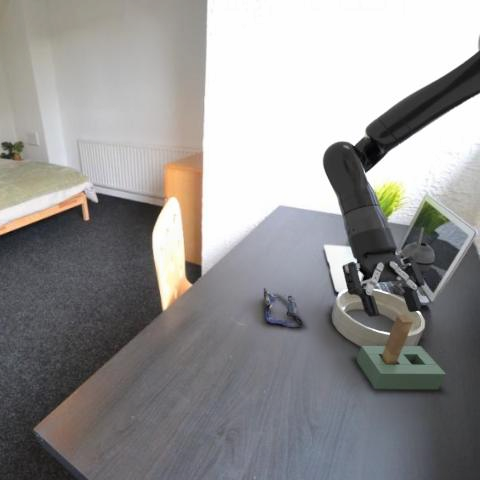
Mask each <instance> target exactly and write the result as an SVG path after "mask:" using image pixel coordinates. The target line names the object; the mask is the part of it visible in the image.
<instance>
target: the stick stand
mask: <svg viewBox="0 0 480 480" xmlns="http://www.w3.org/2000/svg"><path fill="white" fill-rule="evenodd" d="M384 349H385V346H360V350H359V352H358V356H357V358H356V362H357V364H358V365H359V367H360V368H361V370H362V372H363V373H364V375H365V376H366V377H367V379H368V381H369V382H370V384H371V385H372V387H373V389H374V390H439V388H440V387H441V384H443V383H442V382H443V380H444V379H445V377H446V374H447V373H446V371H444V369H442V368H441V367H440V366H439V365H438V363H437V362H436V361H435V360H434V359H433V358H432V357H431V356H430V354H429V353H428V352H427V351H426V350H425V349H424V348H423V346H421V345H417V346H403V348H402V351H401V353H400V355H399V358H398V360H397V363H396V365H386V364H385V362H384V361H383V360H382V358H381V357H382V354H383V351H384Z"/></svg>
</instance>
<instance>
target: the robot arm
mask: <svg viewBox="0 0 480 480" xmlns="http://www.w3.org/2000/svg"><path fill="white" fill-rule="evenodd" d="M477 39H478V40H477V50H478V51H477V52H476V53H474V54H473V55H471V56H470V57H468V59H466V60H465V61H463V62H462V63H461V64H459V65H457V66H456V67H454V68H453V69H451V70H450V71H448V72H447V73H446V74H444V75H442V76H441V77H439V78H437V79H435V80H433V81H432V82H430V83H428V84H426V85H424V86H423V87H421V88H419V89H417V90H415V91H413V92H412V93H410V94H409V95H407V96H405V97H404V98H402V99H401V100H399V101H398V102H396V103H395V104H394V105H392V106H391V107H390V108H388V109H386V111H384V112H383V113H381V114H380V115H379V116H377V117H376V118H375V119H374V120H372V121H371V122H370V123H368V124H367V126H366V127H365V130H364V135H363V137H361V138H360V140H358V141H357V142H356V143H355V144H353V143H352V142H349V141H346V140H345V141H344V140H342V141H336V142H333V143H331V144H330V145H329V146H328V147H327V148H326V149H325V151H324V153H323V156H322V167H323V170H324V172H325V176H326V177H327V180H328V182H329V185H330V186H331V188H332V190H333V192H334V194H335V196H336V199H337V203H338V208H339V210H340V214H341V217H342V221H343V227H344V231H345V234H346V237H347V241H348V243H349V247H350V251H351V254H352V257H353V258H354V259H355V260H356V262H354V261H350V262H348V263H345V264H343V265H342V267H341V268H342V271H343V276H344V281H345V284H346V289H348V293H349V294H350V295H357V296H359V297H360V298H361V301H362V304H363V307H364V309H363V311H364V313H365V314H366V315H367V316H368V317H369V318H372V317H373V318H374V317H379V316H380V313H379V311H378V308H377V304H376V301H375V298H374V295H373V296H371V294H372V292H373V289H375V287H376V286H377V285H378V284H379V283H390V284H392V285H393V286H395V285H397V286H398V287H399V288H400V289H401V290H402V291H403V292H405V293H403V295H402V296H403V299H404V300H405V302H406V305H407V308H408V310H409V312H415V311H419V312H421V311H422V303H421V300H420V297H419V294H418V292H417V291H418V290H417V288H418V289H419V288H421V287H424V286H425V284H426V283H425V280H424V278H422V275H421V273H420V271H419V268H418V266H417V264H416V261H415V259H414V257H413V256H409V257H406V258H403V259H400V257H398V255H397V249H398V246H397V243H396V241H395V239H394V236H393V232H392V230H391V227H390V223H389V222H388V219H387V215H386V214H385V212H384V210H383V208H382V205H381V203H380V201H379V198H378V195H377V192H376V190H375V188H374V186H373V184H372V183H371V181H370V180H368V177H367V175H366V174H367V173H368V172H370V170H372V169H373V168H374V167H375V166H376V165H377V164H379V162H381V160H383V159H384V158H385V157H386V156H387V154H389V152H391V151H392V150H394V149H395V148H397V147H398V146H400V145H401V144H403V143H404V142H406V141H407V140H409V139H411V138H412V137H414V135H417V134H418V133H419V132H421V131H422V130H424V129H425V128H426V127H428V126H429V125H431V124H433V123H434V122H435V121H437V120H438V119H440V118H441V117H443V116H445V115H447V114H448V113H449V112H451V111H453V110H455V109H456V108H457V107H459V106H461V105H463V104H464V103H466V102H467V101H469V100H471V99H473V98H475V97H476V96H478V95H480V34H479V36H478V38H477ZM400 268H402V270H401V269H400ZM359 273H360V274H362V275H361V278H360V275H359ZM413 275H414V278H415V280H416V281H415V280H414V278H413ZM397 276H399V277H397Z"/></svg>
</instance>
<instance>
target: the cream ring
mask: <svg viewBox="0 0 480 480" xmlns="http://www.w3.org/2000/svg"><path fill="white" fill-rule="evenodd" d="M373 295H374V298H375V301H376V304H377V308H378V311H379V315H382V316H384V317H387V318H389V319H390V320H392V321H393V322H395V320H396V317H397V316H408V317H409V318H410V319H411V320H412V321H413V324H412V326H411V329H410V331H409V333H408V336H407V338H406V341H405V343H404V346H418V344H419V342H420V339H421V337H422V335H423V333H424V330H425V327H426V320H425V318H424V316H423V314H422V313H421V311H415V312H409V310H408V308H407V305H406V302H405V299H404V298H402V297H400V296H397V295H395V294H393V293H390V292H387V291H384V290H382V289H381V290H380V289H377V288H374V289H373V292H372V294H371V296H373ZM353 310H364V307H363V304H362V301H361V298H360V297H359V296H357V295H350V294H349V293H348V289H347V288H346V289H343V290H342V291H340V292H338V294H337V296H336V298H335V301H334V305H333V308H332V312H331V321H332V324H333V326H334V327H335V329H336V330H337V331H338V332H339V333H340V334H341V335H342V336H343V337H345V338H346V339H347V340H349V341H350V342H351V343H353V344H356V345H357V346H359V347H361V346H386V343H387V341H388V338H389V336H390V333H391V332H386V331H381V330H378V329H375V328H372V327H370V326H366V325H364V323H361V322H359V321H357V320H356V319H354V318H353V317H351V315H349V314H348V312H350V311H353Z"/></svg>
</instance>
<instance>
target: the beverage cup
mask: <svg viewBox="0 0 480 480" xmlns="http://www.w3.org/2000/svg"><path fill="white" fill-rule="evenodd" d="M424 231H425V227H421V229H420V234H419V238H418V241H414V242H411V243H408V244H407V245H405V246H404V247H403V249H402V250H401V252H400V253H399V259H403V258H406V257H409V256H413V257H414V259H415V261H416V264H417V266H418V268H419V271H420V273H421V275H422V278H423V279H424V278H425V277H426V275H427V273H428V271H429V270H430V269H431V267H432V266H433V265H434V263H435V258H436V255H435V251H434V249H433V248H432V247H431V246H430V245H429V244H428V243H425V242H422V240H423V235H424ZM400 269H401V270H402V268H400ZM397 277H399V276H397ZM413 278H414V275H413ZM414 280H415V278H414ZM415 281H416V280H415ZM393 286H394V288H393V290H394V292H395V293H397V294H398V295H400V296H403V293H405V292H403V291H402V290H401V289H400V288H399V287H398V286H397V285H393ZM418 290H419V288H417V291H418Z"/></svg>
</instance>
